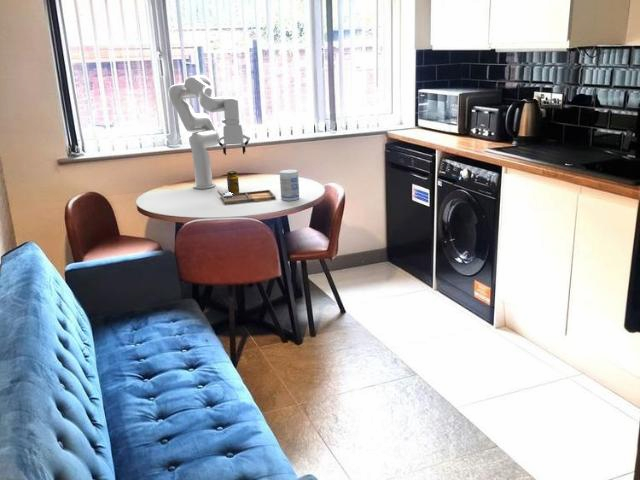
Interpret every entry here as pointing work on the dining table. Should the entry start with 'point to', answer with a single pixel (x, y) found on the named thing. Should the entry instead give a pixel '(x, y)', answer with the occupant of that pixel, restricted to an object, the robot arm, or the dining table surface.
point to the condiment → (233, 182)
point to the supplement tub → (289, 185)
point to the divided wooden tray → (249, 197)
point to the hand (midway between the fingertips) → (234, 154)
